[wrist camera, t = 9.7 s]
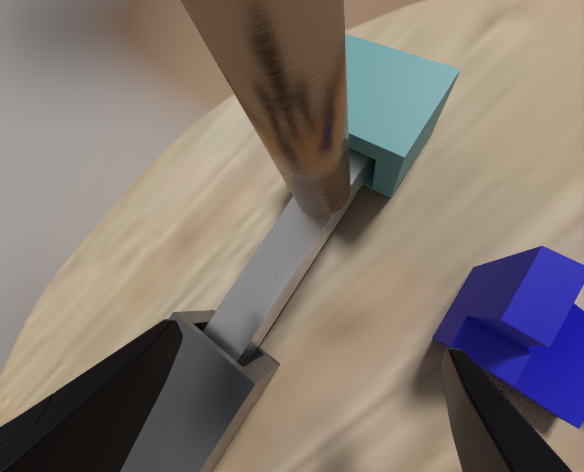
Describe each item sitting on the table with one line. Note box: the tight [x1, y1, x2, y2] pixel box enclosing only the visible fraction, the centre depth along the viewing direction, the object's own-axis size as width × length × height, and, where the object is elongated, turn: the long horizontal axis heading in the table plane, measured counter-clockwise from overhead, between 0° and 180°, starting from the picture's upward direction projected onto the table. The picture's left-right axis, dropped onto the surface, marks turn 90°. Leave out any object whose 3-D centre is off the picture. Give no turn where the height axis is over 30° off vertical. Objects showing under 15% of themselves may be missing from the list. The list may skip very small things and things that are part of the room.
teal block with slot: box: [345, 35, 461, 198], centre depth 16 cm, size 5×6×5 cm
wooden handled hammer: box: [181, 0, 376, 367], centre depth 10 cm, size 18×3×13 cm, turn 146°
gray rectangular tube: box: [120, 310, 280, 472], centre depth 14 cm, size 12×5×4 cm, turn 146°
